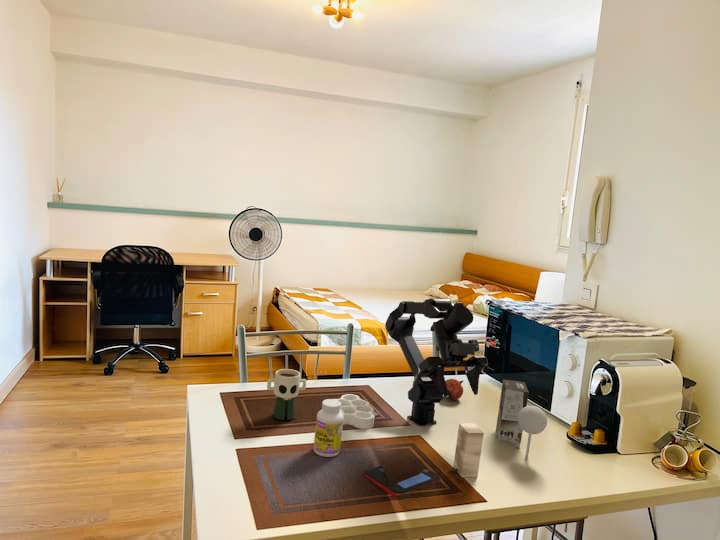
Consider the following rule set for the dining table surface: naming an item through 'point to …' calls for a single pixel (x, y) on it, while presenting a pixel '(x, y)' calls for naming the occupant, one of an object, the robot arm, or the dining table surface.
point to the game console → (404, 486)
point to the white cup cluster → (357, 411)
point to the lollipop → (532, 422)
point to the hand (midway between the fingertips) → (461, 395)
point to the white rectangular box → (468, 450)
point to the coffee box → (511, 411)
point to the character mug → (286, 392)
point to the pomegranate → (454, 388)
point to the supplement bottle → (328, 429)
